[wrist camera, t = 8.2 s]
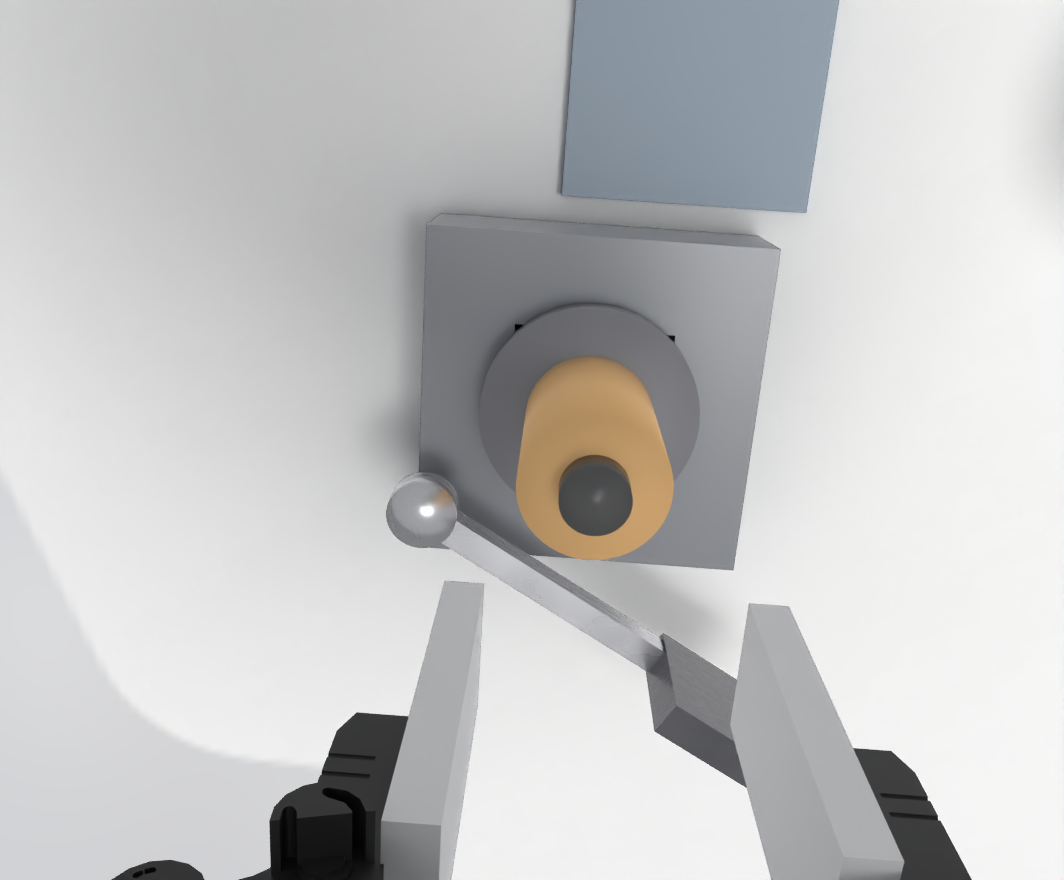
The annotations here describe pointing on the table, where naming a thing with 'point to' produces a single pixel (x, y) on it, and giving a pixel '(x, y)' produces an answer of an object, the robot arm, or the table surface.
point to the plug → (590, 426)
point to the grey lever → (583, 620)
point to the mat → (697, 101)
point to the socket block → (612, 279)
